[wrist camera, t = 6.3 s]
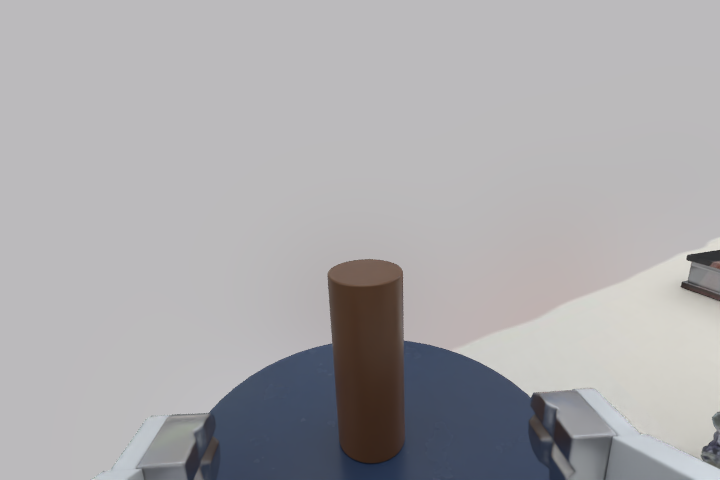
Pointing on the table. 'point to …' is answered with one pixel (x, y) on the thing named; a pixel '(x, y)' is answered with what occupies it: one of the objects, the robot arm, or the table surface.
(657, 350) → the table surface
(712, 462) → the mineral rock
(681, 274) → the table surface
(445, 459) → the lid
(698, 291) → the book
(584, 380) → the table surface
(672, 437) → the table surface
